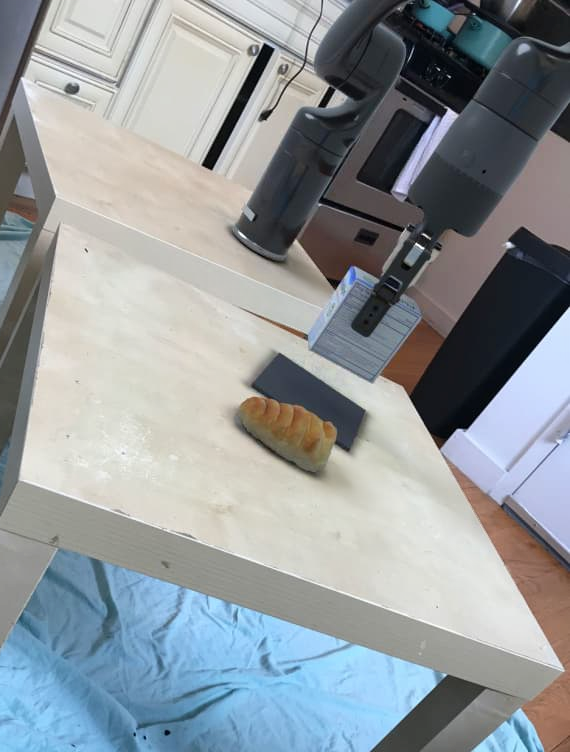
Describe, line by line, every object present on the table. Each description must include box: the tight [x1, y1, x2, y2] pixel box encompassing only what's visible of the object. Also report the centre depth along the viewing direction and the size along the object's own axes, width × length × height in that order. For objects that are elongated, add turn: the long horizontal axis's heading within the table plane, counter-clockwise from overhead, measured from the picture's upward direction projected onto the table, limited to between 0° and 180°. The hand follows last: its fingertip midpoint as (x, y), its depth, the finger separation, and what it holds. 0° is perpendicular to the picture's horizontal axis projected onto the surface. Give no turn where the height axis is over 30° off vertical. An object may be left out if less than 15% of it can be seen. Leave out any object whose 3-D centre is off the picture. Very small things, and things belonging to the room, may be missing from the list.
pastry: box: [237, 396, 337, 473], centre depth 69 cm, size 9×7×4 cm
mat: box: [250, 352, 367, 452], centre depth 81 cm, size 12×12×1 cm
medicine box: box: [307, 265, 422, 384], centre depth 76 cm, size 8×4×9 cm, turn 84°
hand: (363, 324), depth 76 cm, fingers closed on medicine box, 5 cm apart
